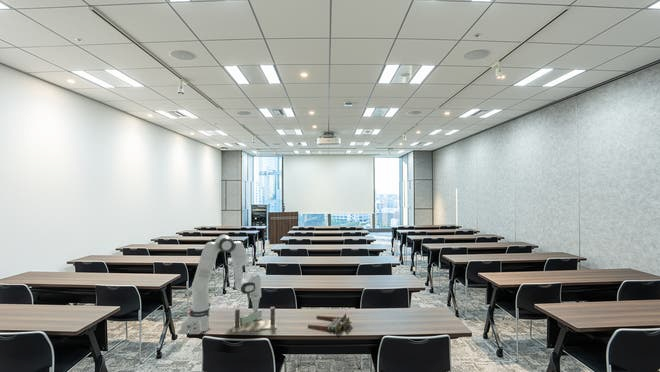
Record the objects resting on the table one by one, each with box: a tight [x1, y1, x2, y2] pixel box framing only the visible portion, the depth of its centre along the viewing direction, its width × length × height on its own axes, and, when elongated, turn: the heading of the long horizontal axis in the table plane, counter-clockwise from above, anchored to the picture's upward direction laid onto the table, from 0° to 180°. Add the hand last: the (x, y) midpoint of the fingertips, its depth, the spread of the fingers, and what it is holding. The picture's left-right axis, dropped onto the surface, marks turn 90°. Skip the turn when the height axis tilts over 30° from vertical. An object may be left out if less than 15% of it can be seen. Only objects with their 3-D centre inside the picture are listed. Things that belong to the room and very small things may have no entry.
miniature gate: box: [307, 313, 352, 335], centre depth 237 cm, size 27×6×30 cm
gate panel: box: [240, 308, 263, 326], centre depth 240 cm, size 21×2×6 cm, turn 148°
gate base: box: [232, 306, 277, 334], centre depth 234 cm, size 31×14×13 cm, turn 103°
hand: (255, 312), depth 251 cm, fingers closed
